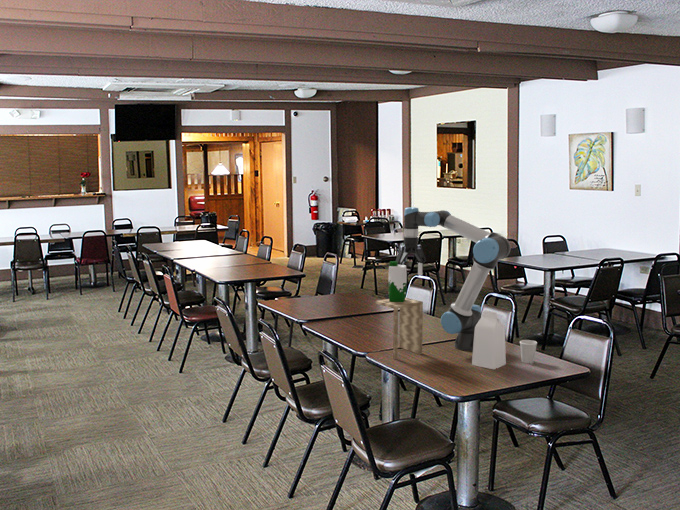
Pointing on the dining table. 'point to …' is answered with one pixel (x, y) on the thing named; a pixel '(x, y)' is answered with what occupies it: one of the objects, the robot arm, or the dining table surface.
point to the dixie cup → (528, 350)
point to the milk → (489, 342)
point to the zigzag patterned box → (406, 324)
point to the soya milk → (397, 282)
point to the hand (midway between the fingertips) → (410, 276)
